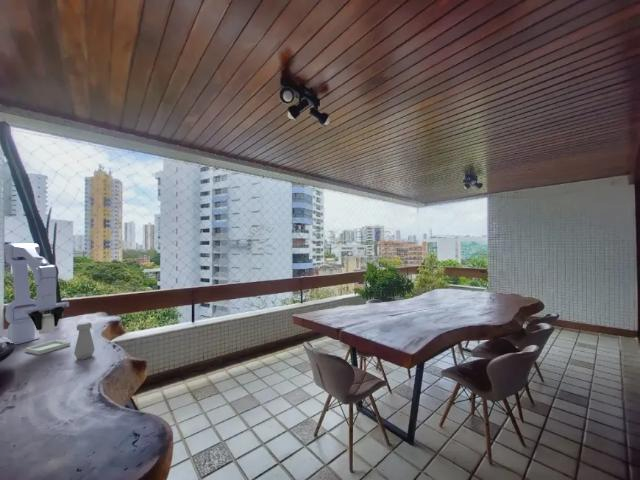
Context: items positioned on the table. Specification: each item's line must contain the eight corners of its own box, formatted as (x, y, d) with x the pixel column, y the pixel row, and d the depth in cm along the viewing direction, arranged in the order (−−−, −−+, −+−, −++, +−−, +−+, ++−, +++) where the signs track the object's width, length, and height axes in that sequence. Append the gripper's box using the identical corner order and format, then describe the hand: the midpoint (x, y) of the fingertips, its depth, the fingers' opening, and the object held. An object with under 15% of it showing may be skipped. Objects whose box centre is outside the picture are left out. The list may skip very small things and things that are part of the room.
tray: (25, 351, 111) (25, 348, 111) (56, 343, 120) (56, 339, 120) (39, 354, 107) (39, 351, 107) (70, 345, 117) (70, 342, 117)
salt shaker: (85, 360, 100) (84, 325, 101) (70, 361, 100) (69, 325, 101) (98, 354, 106) (97, 320, 106) (84, 354, 106) (83, 320, 106)
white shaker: (36, 333, 112) (36, 316, 112) (50, 329, 116) (50, 313, 116) (42, 334, 111) (42, 316, 111) (57, 330, 115) (56, 314, 115)
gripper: (28, 298, 105) (28, 334, 105) (73, 292, 119) (73, 323, 119) (18, 298, 108) (18, 332, 108) (63, 291, 121) (64, 322, 121)
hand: (46, 327), depth 113 cm, fingers closed on white shaker, 4 cm apart
